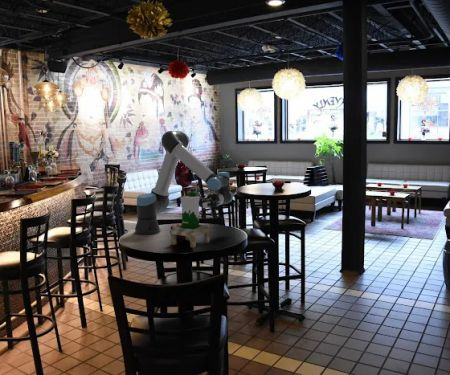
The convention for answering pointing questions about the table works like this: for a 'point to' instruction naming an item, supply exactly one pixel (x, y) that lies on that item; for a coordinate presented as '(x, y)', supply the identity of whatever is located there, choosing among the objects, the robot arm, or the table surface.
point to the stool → (190, 234)
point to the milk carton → (190, 211)
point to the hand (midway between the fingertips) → (193, 204)
